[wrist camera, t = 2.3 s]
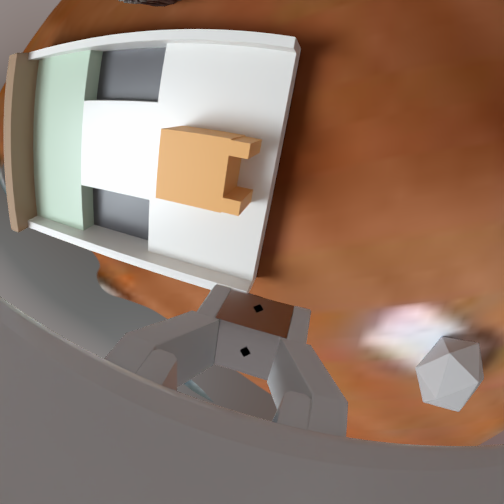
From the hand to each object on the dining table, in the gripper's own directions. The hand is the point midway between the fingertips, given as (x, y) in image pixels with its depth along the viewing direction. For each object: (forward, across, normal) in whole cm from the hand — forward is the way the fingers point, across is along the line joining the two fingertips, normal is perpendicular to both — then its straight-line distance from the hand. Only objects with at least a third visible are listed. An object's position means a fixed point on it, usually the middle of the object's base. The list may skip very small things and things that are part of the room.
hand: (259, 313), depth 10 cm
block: (+18, +9, 0) cm, 21 cm away
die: (+21, -23, +16) cm, 35 cm away
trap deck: (+21, +20, 0) cm, 29 cm away
